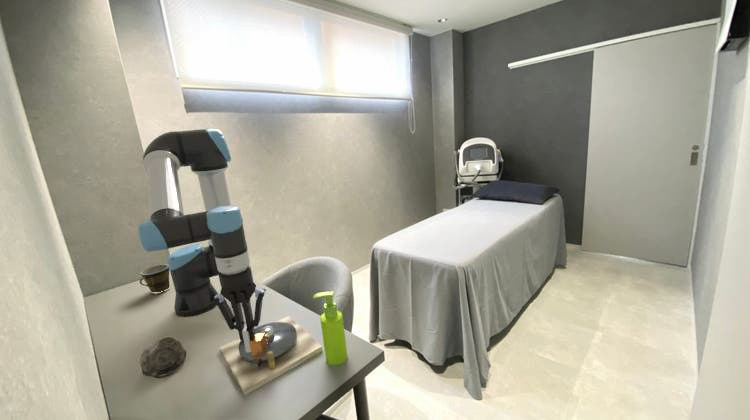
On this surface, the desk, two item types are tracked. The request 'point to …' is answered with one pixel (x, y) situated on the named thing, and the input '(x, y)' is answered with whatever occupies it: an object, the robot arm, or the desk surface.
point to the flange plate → (269, 343)
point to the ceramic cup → (156, 278)
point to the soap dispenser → (332, 330)
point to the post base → (281, 362)
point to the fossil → (162, 357)
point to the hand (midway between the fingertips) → (250, 348)
